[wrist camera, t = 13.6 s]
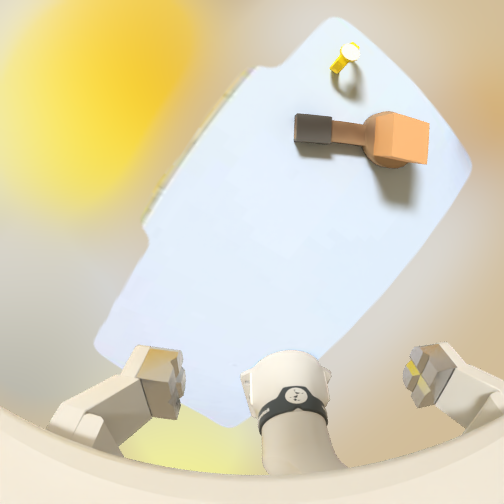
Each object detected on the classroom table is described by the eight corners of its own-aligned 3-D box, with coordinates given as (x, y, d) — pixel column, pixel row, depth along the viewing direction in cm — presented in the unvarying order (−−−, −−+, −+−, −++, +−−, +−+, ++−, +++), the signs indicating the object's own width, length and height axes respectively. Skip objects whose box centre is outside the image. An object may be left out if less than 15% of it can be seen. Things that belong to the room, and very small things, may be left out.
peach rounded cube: (408, 125, 36) (429, 123, 30) (406, 162, 38) (426, 164, 32) (375, 117, 35) (394, 112, 30) (373, 155, 37) (391, 156, 32)
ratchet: (406, 170, 40) (423, 173, 35) (293, 157, 40) (299, 158, 35) (408, 118, 37) (425, 116, 32) (295, 100, 37) (301, 92, 32)
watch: (341, 46, 34) (353, 33, 28) (355, 56, 34) (369, 45, 29) (322, 69, 35) (332, 58, 30) (336, 80, 36) (349, 70, 30)
